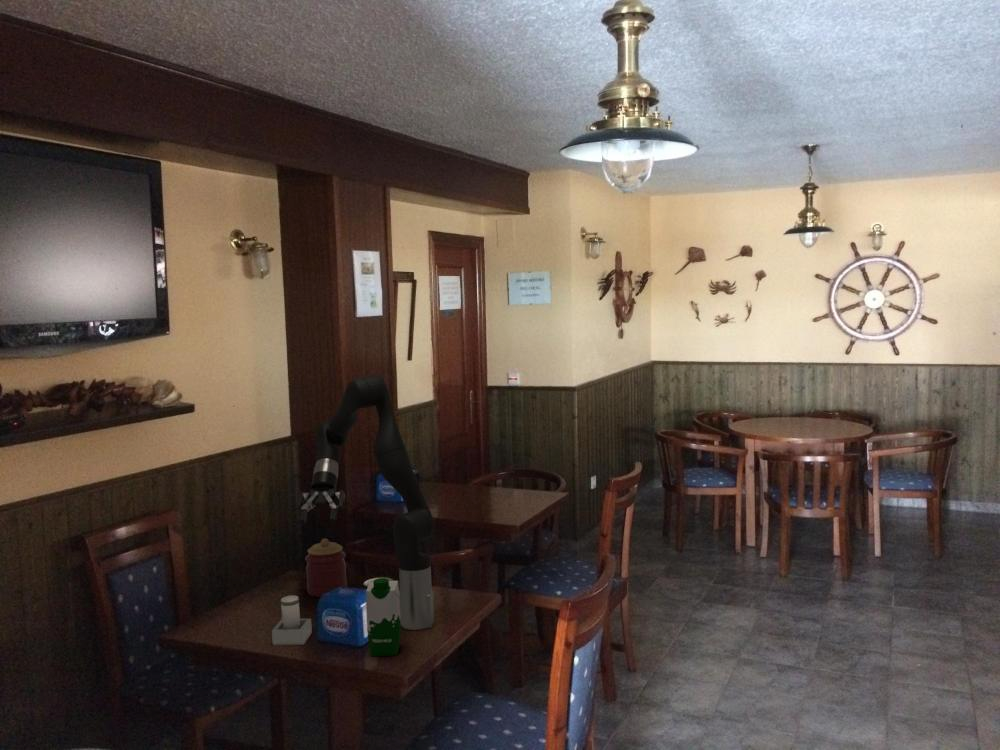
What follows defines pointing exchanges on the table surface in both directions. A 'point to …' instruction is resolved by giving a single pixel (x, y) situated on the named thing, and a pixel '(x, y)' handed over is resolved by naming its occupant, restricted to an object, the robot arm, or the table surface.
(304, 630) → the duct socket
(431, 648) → the table surface
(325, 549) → the canister
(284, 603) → the white cylinder
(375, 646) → the milk carton
